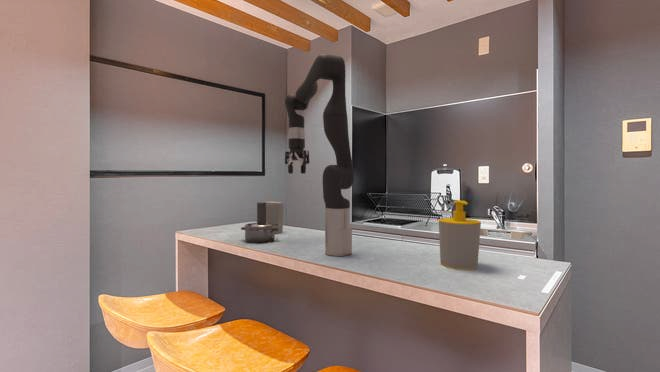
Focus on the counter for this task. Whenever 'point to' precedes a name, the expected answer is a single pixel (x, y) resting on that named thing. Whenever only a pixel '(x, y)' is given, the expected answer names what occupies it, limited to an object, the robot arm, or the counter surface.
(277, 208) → the skincare box
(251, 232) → the pot
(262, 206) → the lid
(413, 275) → the counter surface
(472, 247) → the soap bottle
